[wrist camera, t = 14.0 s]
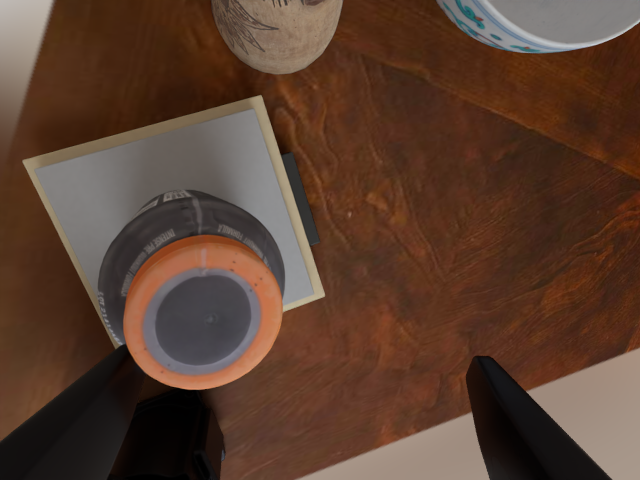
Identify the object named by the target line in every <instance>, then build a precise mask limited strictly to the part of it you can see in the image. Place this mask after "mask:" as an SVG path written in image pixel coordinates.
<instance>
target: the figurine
mask: <svg viewBox="0 0 640 480" xmlns="http://www.w3.org/2000/svg"><path fill="white" fill-rule="evenodd" d="M342 3H343V0H211V9H212V13H213V17H214V20H215V23H216V26H217V28H218V30H219V32H220V34H221V36H222V38H223V39H224V41H225V43H226V44H227V45H228V47H229V48H230V50H231V51H232V52H233V53H234V54H235V55H236V56H237V57H238V58H239V59H240V60H241V61H243V62H244V63H246V64H247V65H249V66H250V67H252V68H254V69H257V70H259V71H261V72H265V73H271V74H288V73H293V72H296V71H299V70H301V69H304V68H306V67H307V66H308V65H310V64H311V63H312V62H313V61H314V60H316V59H317V58H318V57H319V56H320V55H321V54H322V53H323V52H324V50H325V48H326V47H327V45H328V44H329V42H330V41H331V39H332V37H333V35H334V32H335V30H336V27H337V23H338V20H339V16H340V12H341V8H342Z"/></svg>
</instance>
